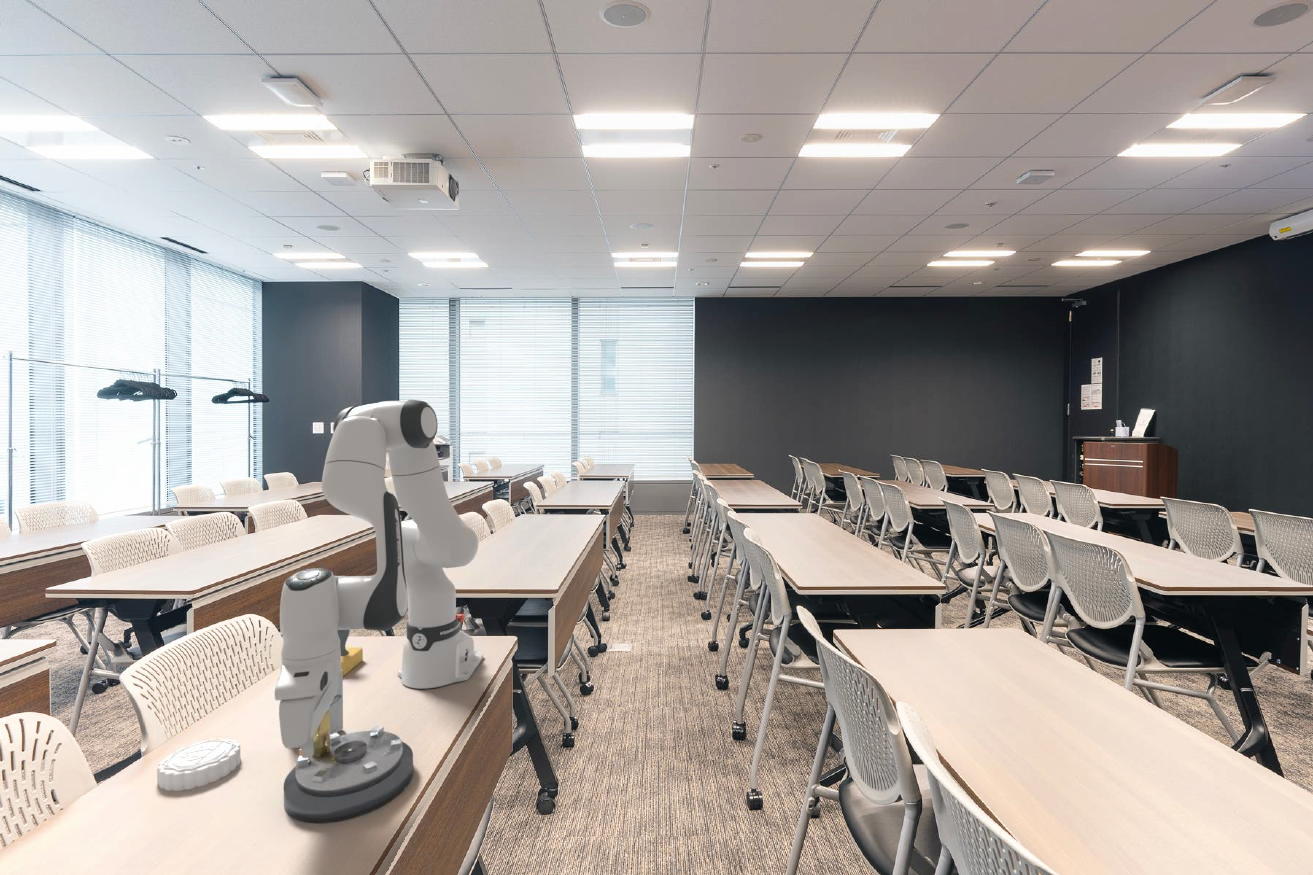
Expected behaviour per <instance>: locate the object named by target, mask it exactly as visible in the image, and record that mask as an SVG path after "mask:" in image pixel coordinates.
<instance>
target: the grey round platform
mask: <svg viewBox="0 0 1313 875" xmlns="http://www.w3.org/2000/svg"><path fill="white" fill-rule="evenodd" d="M402 743H403V758H402V762H401V764H400V765H399V767H398V768H397V769H396V770H395V771H394V772H393V773H392V774H391V775H389V776H388V777H386V778H385V779H383V780H382V781H380V782H378V783H376V784H374V785H372V786H370V787H367V788H365V789H362V790H359V791H356V792H352V793H348V794H343V795H337V796H314V795H309V794H306V793H304V792H302V791H301V790H299V789H298V787H297V786H296V765H295V766H293V768H292V769H291V770H290V771H289V773H288V774H287V776H286V778H284V783H283V807H284V811H285V812H286V813H287V815H289V816H290V817H291V818H292V819H295V820H297V821H299V822H304V823H311V824H327V823H329V824H330V823H336V822H341V821H347V820H350V819H353V818H358V817H360V816H364V815H367V814H368V813H371V812H373V811H375V810H377V809H380V808H381V807H383V806H385V805H387V804H389V803H390V802H391V801H393V800H394V799H396V798H397V797H398V796H400V794H401V793H402V792H404V791H405V790H406V788H407V787H408V786H409V784H410V783H411V781H412V778H413V776H414V753H413V750H412V748H411V746H410V745H408V744H407V743H406V742H404V741H402ZM299 756H301V748H299V749H298V757H299Z"/></svg>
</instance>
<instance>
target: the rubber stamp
mask: <svg viewBox="0 0 1313 875" xmlns="http://www.w3.org/2000/svg"><path fill="white" fill-rule="evenodd" d="M350 632H351V629H349V630H338V629H337V633H338V637H339V639H340V649H341V670H343V677H344V676H346V675H347V674H348V673H350V672H351V670H353V669H355V667H356V666H358V665H359V664H360V663H361V662H362V661H364V660H363V659H364V657H363V652H364V651H363V648H362V646H361V647H346V644H347V641H348V638H349V635H350Z"/></svg>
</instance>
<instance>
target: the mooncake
mask: <svg viewBox="0 0 1313 875" xmlns="http://www.w3.org/2000/svg"><path fill="white" fill-rule="evenodd" d="M240 764H241V744H240V743H239V742H238V741H237V740H233V739H231V738H225V739H224V738H220V737H219V738H217V737H216V738H214V739H213V738H212V739H206V740H205V739H204V740H203V741H198V742H195V743H194V744H190V745H185V746H182V747H181V748H180V749H178V750H174V751H173V752H172V753H171V754H169V755H166V757H164V758H163V760H162V761H160V762H159V764H158V767H157V769H156V777H157V779H156V782H157V785H158V786H159V789H162V790H163V789H164V790H165V791H166V792H167V791H174V792H179V791H180V792H181V791H183V790H186V791H189V790H192V789H195V788H196V787H197V788H200V787H204V786H207V785H208V784H209V783H215V782H217V781H219V780H221V778H224V777H227V776H228V775H229V774H230V772H233V771H235V770H236V769H237V766H239V765H240Z"/></svg>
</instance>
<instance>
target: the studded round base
mask: <svg viewBox="0 0 1313 875" xmlns="http://www.w3.org/2000/svg"><path fill="white" fill-rule="evenodd" d="M384 729H385V727H384V726H379V725H378V726H377V725H376V726H374V727H373V728H372V729H370V730H363V731H355V732H350V733H346V734H343V735H340V734H339V733H334V734H331V735H330V712H329V711H328V710H327V712H326V714H325V716H324V717H323V719H322V721H321V723H320V725H319V727H318V729H317V730H316V732H315V734H314V737H313V740H314V742H315V744H316V746H315V748H316V750H315V753H314V755H313V756H312V757H309V758H302V756H299V755H298V758H297V761H296V762H297V763H296V765H295V766H296V786H297V787H298V789H299V790H301V791H302V792H304V793H306V794H309V795H314V796H337V795H343V794H348V793H352V792H356V791H359V790H362V789H365V788H367V787H370V786H372V785H374V784H376V783H378V782H380V781H382V780H383V779H385V778H386V777H388V776H389V775H391V774H392V773H393V772H394V771H395V770H396V769H397V768H398V767H399V765H400V764H401V762H402V758H403V743H402V742H403V741H402V739H401V738H400V737H399V735H397V734H395V733H392V732H388V731H385V730H384Z"/></svg>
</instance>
